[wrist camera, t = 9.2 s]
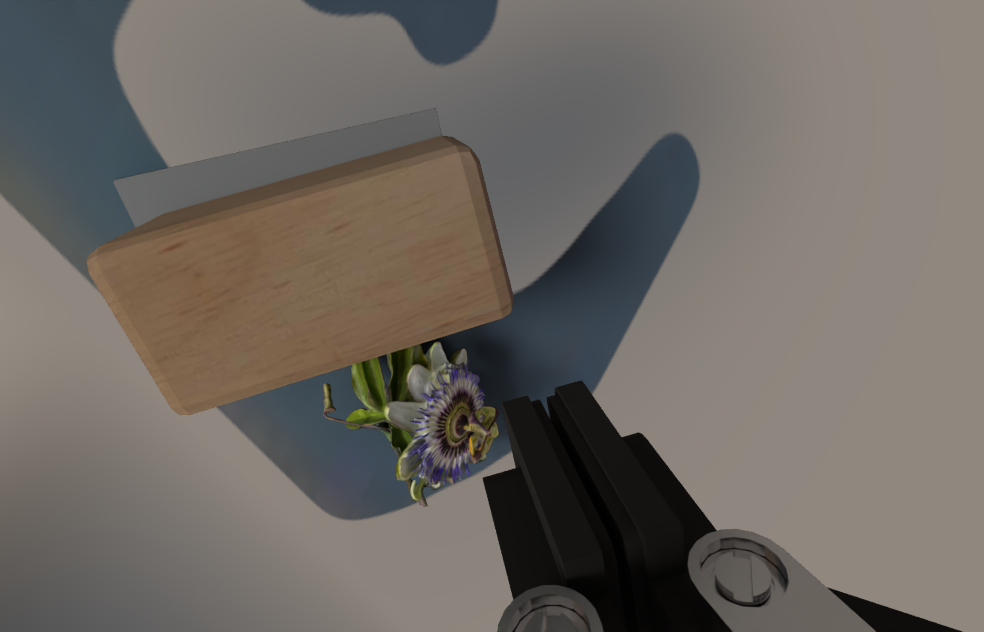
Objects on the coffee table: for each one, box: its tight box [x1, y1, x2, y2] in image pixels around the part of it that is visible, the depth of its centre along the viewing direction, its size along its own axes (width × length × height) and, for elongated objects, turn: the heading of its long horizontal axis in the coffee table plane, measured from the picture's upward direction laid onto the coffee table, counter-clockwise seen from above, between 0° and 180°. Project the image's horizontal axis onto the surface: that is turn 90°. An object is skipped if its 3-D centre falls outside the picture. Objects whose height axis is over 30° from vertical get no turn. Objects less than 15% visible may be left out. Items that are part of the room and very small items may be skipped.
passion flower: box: [323, 342, 499, 507], centre depth 39 cm, size 11×11×12 cm
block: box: [87, 136, 514, 415], centre depth 32 cm, size 10×10×20 cm
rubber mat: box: [113, 108, 442, 227], centre depth 36 cm, size 12×20×1 cm, turn 102°
